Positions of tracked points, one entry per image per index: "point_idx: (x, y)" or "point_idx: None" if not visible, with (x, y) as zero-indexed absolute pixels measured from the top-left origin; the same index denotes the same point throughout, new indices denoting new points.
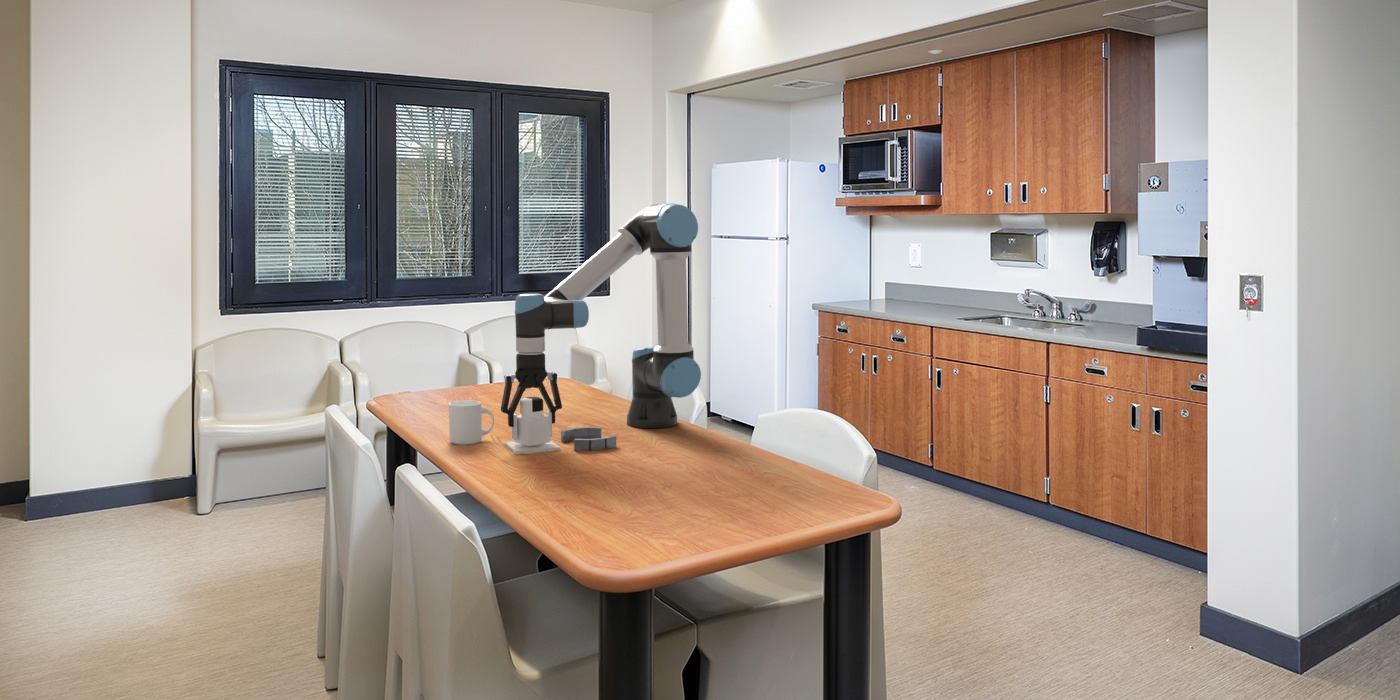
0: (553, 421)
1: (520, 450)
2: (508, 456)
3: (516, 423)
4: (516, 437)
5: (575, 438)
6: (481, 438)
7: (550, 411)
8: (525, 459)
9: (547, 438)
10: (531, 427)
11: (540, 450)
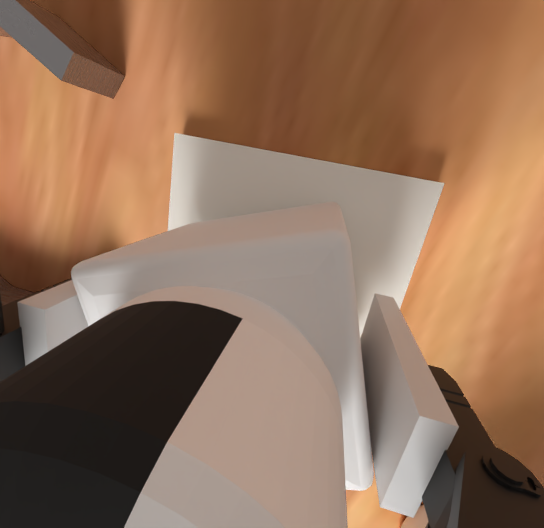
0: None
1: (402, 188)
2: (500, 159)
3: (403, 355)
4: (383, 299)
5: None
6: (415, 519)
7: (17, 340)
8: (465, 9)
9: (200, 222)
10: (310, 219)
11: (288, 154)
